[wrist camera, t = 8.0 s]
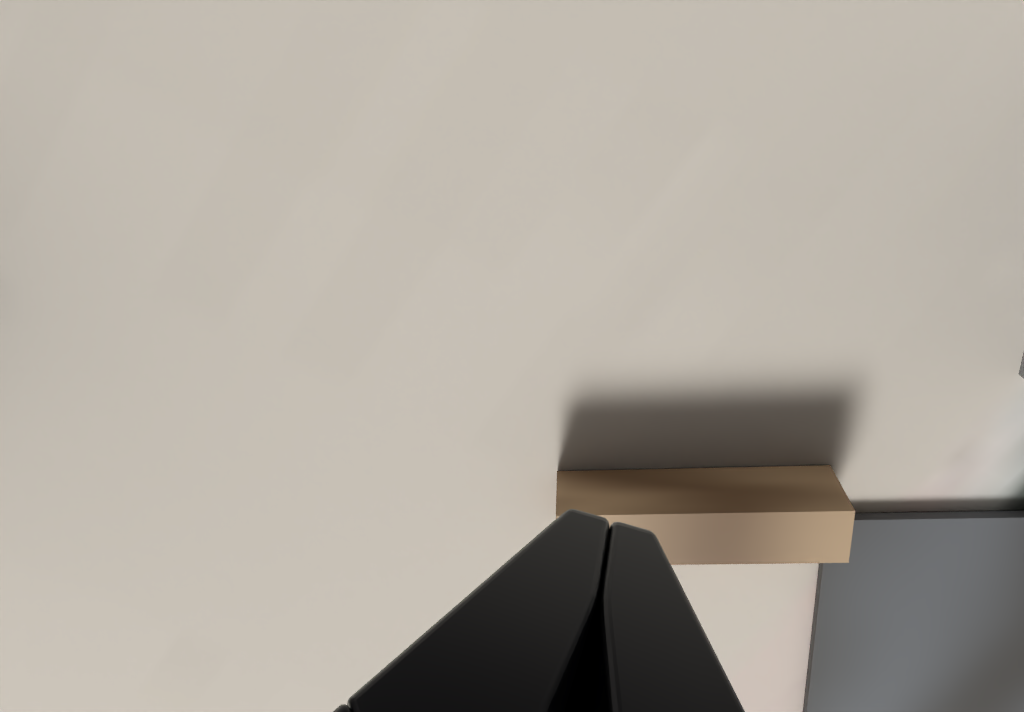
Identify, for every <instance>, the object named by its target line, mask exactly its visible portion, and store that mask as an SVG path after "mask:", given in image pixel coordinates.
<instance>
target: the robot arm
mask: <svg viewBox="0 0 1024 712" xmlns="http://www.w3.org/2000/svg"><path fill="white" fill-rule="evenodd" d="M333 712H745V711H744V709H743V707H742V705H741V703H740V701H739V699H738V697H737V695H736V693H735V692H734V690H733V688H732V686H731V684H730V682H729V680H728V678H727V676H726V674H725V672H724V670H723V668H722V666H721V664H720V662H719V660H718V658H717V656H716V654H715V652H714V650H713V648H712V646H711V644H710V642H709V640H708V638H707V636H706V634H705V632H704V630H703V628H702V626H701V624H700V622H699V620H698V618H697V616H696V614H695V612H694V610H693V608H692V606H691V604H690V602H689V600H688V598H687V596H686V594H685V592H684V590H683V588H682V586H681V584H680V582H679V580H678V578H677V576H676V574H675V572H674V570H673V568H672V567H671V565H670V563H669V561H668V559H667V557H666V555H665V553H664V551H663V549H662V547H661V545H660V543H659V541H658V539H657V537H656V535H655V534H654V533H653V532H652V531H650V530H647V529H643V528H640V527H636V526H632V525H629V524H625V523H622V522H614V523H612V524H611V526H610V528H609V522H608V520H607V519H606V518H604V517H601V516H597V515H594V514H590V513H587V512H583V511H580V510H576V509H569V510H567V511H565V512H564V513H563V514H562V515H560V516H559V517H558V518H557V519H556V520H555V521H553V522H552V523H551V524H550V525H549V526H548V527H547V528H545V529H544V530H543V531H542V532H541V533H540V534H538V535H537V536H536V537H535V538H534V539H533V540H532V541H530V542H529V543H528V544H527V545H526V546H525V547H523V548H522V549H521V550H520V551H519V552H518V553H517V554H515V555H514V556H513V557H512V558H511V559H510V560H508V561H507V562H506V563H505V564H504V565H503V566H502V567H500V568H499V569H498V570H497V571H496V572H495V573H493V574H492V575H491V576H490V577H489V578H488V579H486V580H485V581H484V582H483V583H482V584H481V585H480V586H478V587H477V588H476V589H475V590H474V591H473V592H471V593H470V594H469V595H468V596H467V597H466V598H465V599H463V600H462V601H461V602H460V603H459V604H458V605H456V606H455V607H454V608H453V609H452V610H451V611H450V612H448V613H447V614H446V615H445V616H444V617H443V618H441V619H440V620H439V621H438V622H437V623H436V624H434V625H433V626H432V627H431V628H430V629H429V630H428V631H426V632H425V633H424V634H423V635H422V636H421V637H419V638H418V639H417V640H416V641H415V642H414V643H413V644H411V645H410V646H409V647H408V648H407V649H406V650H404V651H403V652H402V653H401V654H400V655H399V656H398V657H396V658H395V659H394V660H393V661H392V662H391V663H389V664H388V665H387V666H386V667H385V668H384V669H383V670H381V671H380V672H379V673H378V674H377V675H376V676H374V677H373V678H372V679H371V680H370V681H369V682H367V683H366V684H365V685H364V686H363V687H362V688H361V689H359V690H358V691H357V692H356V693H355V694H354V695H352V696H351V697H350V698H349V700H348V703H347V705H345V704H344V705H340V706H339V707H338V708H337V709H336V710H334V711H333Z"/></svg>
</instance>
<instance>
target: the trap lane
mask: <svg viewBox="0 0 1024 712" xmlns="http://www.w3.org/2000/svg"><path fill="white" fill-rule="evenodd" d="M569 509H576V510H580V511H583V512H587V513H590V514H594V515H597V516H601V517H604V518H606V519H607V520H608V522H609V528H610V526H611V524H612V523H614V522H622V523H625V524H629V525H632V526H636V527H640V528H643V529H647V530H650V531H652V532H653V533H654V534H655V535H656V537H657V539H658V541H659V543H660V545H661V547H662V549H663V551H664V553H665V555H666V557H667V559H668V561H669V563H670V565H684V564H776V563H819V571H818V581H817V590H816V599H815V608H814V617H813V626H812V635H811V644H810V653H809V663H808V672H807V681H806V690H805V699H804V708H803V712H1024V511H971V512H909V513H855V510H854V508H853V506H852V504H851V502H850V500H849V499H848V497H847V495H846V493H845V491H844V490H843V488H842V486H841V484H840V482H839V480H838V479H837V477H836V475H835V473H834V471H833V470H832V468H831V466H830V465H820V466H773V467H727V468H680V469H633V470H586V471H557V496H556V519H557V518H558V517H559V516H560V515H562V514H563V513H564V512H565V511H567V510H569Z"/></svg>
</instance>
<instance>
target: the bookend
mask: <svg viewBox="0 0 1024 712" xmlns="http://www.w3.org/2000/svg"><path fill="white" fill-rule="evenodd" d="M1019 375H1020V376H1022V377H1023V378H1024V353H1023V357H1022V362H1021V366H1020V371H1019Z"/></svg>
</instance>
